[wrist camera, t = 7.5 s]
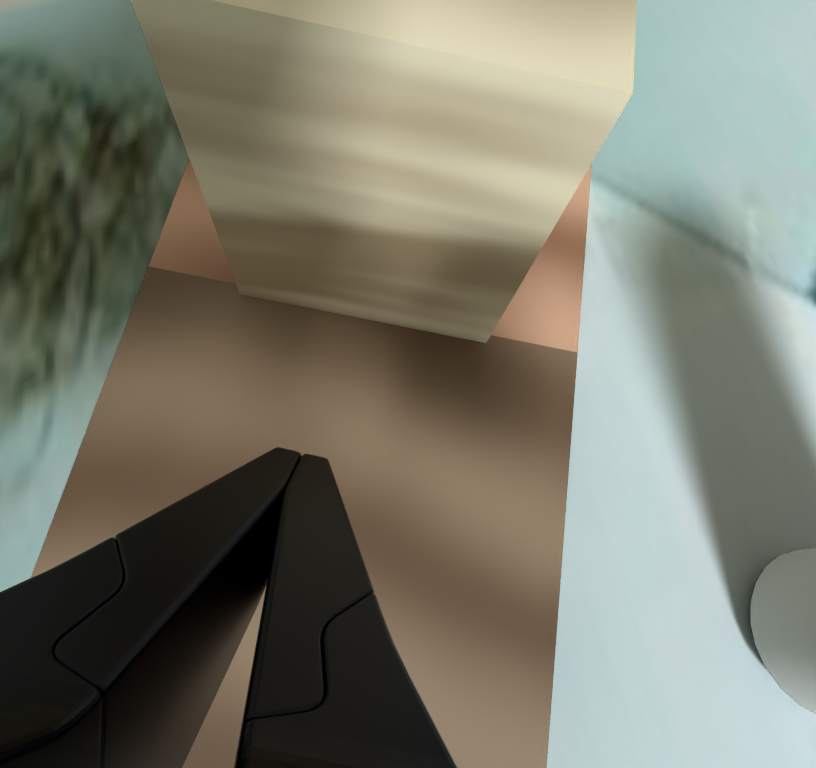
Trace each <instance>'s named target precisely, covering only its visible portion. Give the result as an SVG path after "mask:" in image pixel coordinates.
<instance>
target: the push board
mask: <svg viewBox="0 0 816 768" xmlns="http://www.w3.org/2000/svg"><path fill="white" fill-rule="evenodd" d="M590 177H591V165H590V167H589V169H588V170H587V172H586V174H585V175H584V177H583V179H582V181H581V182H580V184H579V186H578V187H577V189H576V191H575V193H574V194H573V196H572V198H571V199H570V201H569V203H568V204H567V206H566V208H565V210H564V211H563V213H562V215H561V216H560V218H559V220H558V222H557V223H556V225H555V227H554V228H553V230H552V232H551V233H550V235H549V237H548V239H547V240H546V242H545V244H544V245H543V247H542V249H541V251H540V252H539V254H538V256H537V257H536V259H535V261H534V263H533V264H532V266H531V268H530V269H529V271H528V273H527V274H526V276H525V278H524V280H523V281H522V283H521V285H520V286H519V288H518V290H517V292H516V293H515V295H514V297H513V298H512V300H511V302H510V303H509V305H508V307H507V309H506V310H505V312H504V314H503V315H502V317H501V319H500V321H499V322H498V324H497V326H496V327H495V329H494V331H493V333H492V334H491V336H490V338H489V339H488V341H487V343H483V342H478V341H473V340H468V339H463V338H458V337H453V336H448V335H443V334H438V333H433V332H428V331H423V330H418V329H413V328H408V327H403V326H398V325H393V324H388V323H383V322H378V321H373V320H368V319H363V318H358V317H353V316H348V315H343V314H338V313H333V312H328V311H323V310H318V309H313V308H308V307H303V306H298V305H293V304H288V303H283V302H278V301H273V300H268V299H263V298H258V297H253V296H248V295H243V294H240V293H239V291H238V288H237V285H236V283H235V280H234V277H233V275H232V272H231V269H230V267H229V264H228V261H227V258H226V256H225V253H224V250H223V248H222V245H221V242H220V240H219V237H218V234H217V232H216V229H215V226H214V223H213V221H212V218H211V215H210V213H209V210H208V207H207V205H206V202H205V199H204V197H203V194H202V191H201V188H200V186H199V183H198V180H197V178H196V175H195V172H194V170H193V167H192V164H191V161H190V159H189V160H188V163H187V166H186V168H185V171H184V174H183V176H182V179H181V181H180V184H179V187H178V189H177V192H176V195H175V197H174V200H173V203H172V205H171V208H170V211H169V213H168V216H167V219H166V221H165V224H164V227H163V229H162V232H161V235H160V237H159V240H158V242H157V245H156V248H155V250H154V253H153V256H152V258H151V261H150V264H149V266H148V269H147V272H146V274H145V277H144V280H143V282H142V285H141V288H140V290H139V293H138V296H137V298H136V301H135V303H134V306H133V309H132V311H131V314H130V317H129V319H128V322H127V325H126V327H125V330H124V333H123V335H122V338H121V341H120V343H119V346H118V349H117V351H116V354H115V357H114V359H113V362H112V364H111V367H110V370H109V372H108V375H107V378H106V380H105V383H104V386H103V388H102V391H101V394H100V396H99V399H98V402H97V404H96V407H95V410H94V412H93V415H92V417H91V420H90V423H89V425H88V428H87V431H86V433H85V436H84V439H83V441H82V444H81V447H80V449H79V452H78V455H77V457H76V460H75V463H74V465H73V468H72V471H71V473H70V476H69V478H68V481H67V484H66V486H65V489H64V492H63V494H62V497H61V500H60V502H59V505H58V508H57V510H56V513H55V516H54V518H53V521H52V524H51V526H50V529H49V532H48V534H47V537H46V539H45V542H44V545H43V547H42V550H41V553H40V555H39V558H38V561H37V563H36V566H35V569H34V571H33V574H32V577H34V576H37V575H39V574H41V573H43V572H45V571H47V570H50V569H51V568H53V567H55V566H57V565H59V564H61V563H63V562H65V561H67V560H69V559H71V558H73V557H75V556H77V555H79V554H81V553H83V552H84V551H86V550H88V549H90V548H92V547H94V546H96V545H98V544H99V543H101V542H103V541H105V540H107V539H109V538H111V537H113V538H115V536H116V534H118V533H120V532H122V531H124V530H125V529H127V528H129V527H131V526H133V525H135V524H136V523H138V522H140V521H142V520H144V519H146V518H147V517H149V516H151V515H153V514H155V513H157V512H158V511H160V510H162V509H164V508H166V507H168V506H169V505H171V504H173V503H175V502H177V501H179V500H180V499H182V498H184V497H186V496H188V495H190V494H191V493H193V492H195V491H197V490H199V489H200V488H202V487H204V486H206V485H208V484H210V483H211V482H213V481H215V480H217V479H219V478H221V477H222V476H224V475H226V474H228V473H230V472H232V471H233V470H235V469H237V468H239V467H241V466H243V465H244V464H246V463H248V462H250V461H252V460H254V459H255V458H257V457H259V456H261V455H263V454H265V453H266V452H268V451H270V450H272V449H274V448H276V447H281V448H285V449H289V450H294V451H298V452H300V453H301V457H302V455H303V454H311V455H315V456H320V457H324V458H327V459H328V461H329V463H330V466H331V469H332V471H333V474H334V477H335V480H336V483H337V486H338V489H339V491H340V494H341V497H342V500H343V503H344V506H345V509H346V511H347V514H348V517H349V520H350V523H351V526H352V529H353V532H354V534H355V537H356V540H357V543H358V546H359V549H360V552H361V554H362V557H363V560H364V563H365V566H366V569H367V572H368V574H369V577H370V580H371V583H372V586H373V589H374V594H375V595H376V597H377V599H378V602H379V605H380V608H381V611H382V614H383V617H384V619H385V622H386V624H387V627H388V629H389V632H390V634H391V637H392V639H393V642H394V644H395V646H396V648H397V651H398V653H399V655H400V657H401V659H402V661H403V663H404V665H405V667H406V669H407V671H408V673H409V675H410V677H411V679H412V681H413V683H414V685H415V687H416V689H417V691H418V693H419V695H420V696H421V698H422V700H423V702H424V704H425V706H426V708H427V710H428V712H429V714H430V716H431V718H432V720H433V721H434V723H435V725H436V727H437V729H438V731H439V733H440V735H441V737H442V739H443V741H444V743H445V744H446V746H447V748H448V750H449V752H450V754H451V756H452V758H453V760H454V762H455V764H456V765H457V767H458V768H546V766H547V753H548V740H549V726H550V713H551V699H552V686H553V673H554V659H555V646H556V632H557V619H558V606H559V592H560V579H561V566H562V552H563V539H564V525H565V512H566V499H567V485H568V472H569V458H570V445H571V432H572V418H573V405H574V392H575V378H576V365H577V351H578V338H579V325H580V311H581V298H582V284H583V271H584V258H585V244H586V231H587V218H588V204H589V191H590ZM32 577H31V578H32ZM265 590H266V588H265ZM265 590H264V593H263V595H262V597H261V599H260V602H259V604H258V606H257V608H256V611H255V613H254V615H253V617H252V619H251V621H250V623H249V626H248V628H247V630H246V632H245V634H244V636H243V638H242V641H241V643H240V645H239V647H238V649H237V651H236V653H235V656H234V658H233V660H232V662H231V664H230V666H229V668H228V670H227V673H226V675H225V677H224V679H223V681H222V683H221V685H220V688H219V690H218V692H217V694H216V696H215V698H214V700H213V703H212V705H211V707H210V709H209V711H208V713H207V715H206V718H205V720H204V722H203V724H202V726H201V728H200V730H199V733H198V735H197V737H196V739H195V741H194V743H193V745H192V748H191V750H190V752H189V754H188V756H187V758H186V760H185V763H184V765H183V767H182V768H234V763H235V758H236V752H237V747H238V741H239V735H240V730H241V724H242V719H243V713H244V707H245V702H246V696H247V691H248V685H249V680H250V674H251V668H252V663H253V657H254V652H255V646H256V640H257V635H258V629H259V624H260V618H261V613H262V607H263V601H264V596H265Z"/></svg>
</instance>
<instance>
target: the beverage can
mask: <svg viewBox="0 0 816 768" xmlns="http://www.w3.org/2000/svg"><path fill="white" fill-rule="evenodd" d="M751 628H752V632H753V637H754V641H755V645H756V648H757V650H758V652H759V654H760V656H761V659H762V661H763V663H764V665H765V667H766V669H767V670H768V672H769V673H770V675H771V676H772V677H773V679H774V680H775V681H776V683H777V684H778V685H779V687H780V688H781V689H782V690H783V691H784V692H785V693H786V694H787V695H789V696H790V697H791V698H792V699H793V700H794V701H795V702H796V703H798V704H799V705H800V706H802V707H804V708H806V709H807V710H809V711H811V712H813V713H815V714H816V548H814V549H800V550H795V551H792V552H788V553H785V554H781V555H779V556H778V557H777V558H776V559H774V560H773V561H772V562H771V563H769V564H768V565H767V566H766V567H765V569H764V570H763V572H762V573H761V575H760V577H759V578H758V580H757V581H756V584H755V588H754V592H753V595H752V599H751Z"/></svg>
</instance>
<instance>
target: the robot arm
mask: <svg viewBox="0 0 816 768" xmlns="http://www.w3.org/2000/svg"><path fill="white" fill-rule="evenodd" d="M265 588H266V590H265ZM264 590H265V596H264V601H263V607H262V613H261V618H260V624H259V629H258V635H257V640H256V646H255V652H254V657H253V663H252V668H251V674H250V680H249V685H248V691H247V696H246V702H245V707H244V713H243V719H242V724H241V730H240V735H239V741H238V747H237V752H236V758H235V763H234V768H458V767H457V765H456V764H455V762H454V760H453V758H452V756H451V754H450V752H449V750H448V748H447V746H446V744H445V743H444V741H443V739H442V737H441V735H440V733H439V731H438V729H437V727H436V725H435V723H434V721H433V720H432V718H431V716H430V714H429V712H428V710H427V708H426V706H425V704H424V702H423V700H422V698H421V696H420V695H419V693H418V691H417V689H416V687H415V685H414V683H413V681H412V679H411V677H410V675H409V673H408V671H407V669H406V667H405V665H404V663H403V661H402V659H401V657H400V655H399V653H398V651H397V648H396V646H395V644H394V642H393V639H392V637H391V634H390V632H389V629H388V627H387V624H386V622H385V619H384V617H383V614H382V611H381V608H380V605H379V602H378V599H377V597H376V595H375V594H374V589H373V586H372V583H371V580H370V577H369V574H368V572H367V569H366V566H365V563H364V560H363V557H362V554H361V552H360V549H359V546H358V543H357V540H356V537H355V534H354V532H353V529H352V526H351V523H350V520H349V517H348V514H347V511H346V509H345V506H344V503H343V500H342V497H341V494H340V491H339V489H338V486H337V483H336V480H335V477H334V474H333V471H332V469H331V466H330V463H329V461H328V459H327V458H324V457H320V456H315V455H311V454H303V455H302V457H301V453H300V452H298V451H294V450H289V449H285V448H281V447H276V448H274V449H272V450H270V451H268V452H266V453H265V454H263V455H261V456H259V457H257V458H255V459H254V460H252V461H250V462H248V463H246V464H244V465H243V466H241V467H239V468H237V469H235V470H233V471H232V472H230V473H228V474H226V475H224V476H222V477H221V478H219V479H217V480H215V481H213V482H211V483H210V484H208V485H206V486H204V487H202V488H200V489H199V490H197V491H195V492H193V493H191V494H190V495H188V496H186V497H184V498H182V499H180V500H179V501H177V502H175V503H173V504H171V505H169V506H168V507H166V508H164V509H162V510H160V511H158V512H157V513H155V514H153V515H151V516H149V517H147V518H146V519H144V520H142V521H140V522H138V523H136V524H135V525H133V526H131V527H129V528H127V529H125V530H124V531H122V532H120V533H118V534H116V536H115V538H113V537H111V538H109V539H107V540H105V541H103V542H101V543H99V544H98V545H96V546H94V547H92V548H90V549H88V550H86V551H84V552H83V553H81V554H79V555H77V556H75V557H73V558H71V559H69V560H67V561H65V562H63V563H61V564H59V565H57V566H55V567H53V568H51V569H50V570H47V571H45V572H43V573H41V574H39V575H37V576H34V577H32V578H30V579H28V580H26V581H24V582H21V583H19V584H17V585H15V586H13V587H11V588H8V589H6V590H4V591H2V592H0V768H182V767H183V765H184V763H185V760H186V758H187V756H188V754H189V752H190V750H191V748H192V745H193V743H194V741H195V739H196V737H197V735H198V733H199V730H200V728H201V726H202V724H203V722H204V720H205V718H206V715H207V713H208V711H209V709H210V707H211V705H212V703H213V700H214V698H215V696H216V694H217V692H218V690H219V688H220V685H221V683H222V681H223V679H224V677H225V675H226V673H227V670H228V668H229V666H230V664H231V662H232V660H233V658H234V656H235V653H236V651H237V649H238V647H239V645H240V643H241V641H242V638H243V636H244V634H245V632H246V630H247V628H248V626H249V623H250V621H251V619H252V617H253V615H254V613H255V611H256V608H257V606H258V604H259V602H260V599H261V597H262V595H263V593H264Z"/></svg>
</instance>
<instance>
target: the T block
mask: <svg viewBox="0 0 816 768" xmlns="http://www.w3.org/2000/svg"><path fill="white" fill-rule="evenodd" d="M131 3H132V5H133V8H134V11H135V13H136V16H137V19H138V21H139V24H140V27H141V30H142V32H143V35H144V38H145V40H146V43H147V46H148V48H149V51H150V54H151V56H152V59H153V62H154V65H155V67H156V70H157V73H158V75H159V78H160V81H161V83H162V86H163V89H164V91H165V94H166V97H167V100H168V102H169V105H170V108H171V110H172V113H173V116H174V118H175V121H176V124H177V126H178V129H179V132H180V135H181V137H182V140H183V143H184V145H185V148H186V151H187V153H188V156H189V159H190V161H191V164H192V167H193V170H194V172H195V175H196V178H197V180H198V183H199V186H200V188H201V191H202V194H203V197H204V199H205V202H206V205H207V207H208V210H209V213H210V215H211V218H212V221H213V223H214V226H215V229H216V232H217V234H218V237H219V240H220V242H221V245H222V248H223V250H224V253H225V256H226V258H227V261H228V264H229V267H230V269H231V272H232V275H233V277H234V280H235V283H236V285H237V288H238V291H239V293H240V294H243V295H248V296H253V297H258V298H263V299H268V300H273V301H278V302H283V303H288V304H293V305H298V306H303V307H308V308H313V309H318V310H323V311H328V312H333V313H338V314H343V315H348V316H353V317H358V318H363V319H368V320H373V321H378V322H383V323H388V324H393V325H398V326H403V327H408V328H413V329H418V330H423V331H428V332H433V333H438V334H443V335H448V336H453V337H458V338H463V339H468V340H473V341H478V342H483V343H487V341H488V339H489V338H490V336H491V334H492V333H493V331H494V329H495V327H496V326H497V324H498V322H499V321H500V319H501V317H502V315H503V314H504V312H505V310H506V309H507V307H508V305H509V303H510V302H511V300H512V298H513V297H514V295H515V293H516V292H517V290H518V288H519V286H520V285H521V283H522V281H523V280H524V278H525V276H526V274H527V273H528V271H529V269H530V268H531V266H532V264H533V263H534V261H535V259H536V257H537V256H538V254H539V252H540V251H541V249H542V247H543V245H544V244H545V242H546V240H547V239H548V237H549V235H550V233H551V232H552V230H553V228H554V227H555V225H556V223H557V222H558V220H559V218H560V216H561V215H562V213H563V211H564V210H565V208H566V206H567V204H568V203H569V201H570V199H571V198H572V196H573V194H574V193H575V191H576V189H577V187H578V186H579V184H580V182H581V181H582V179H583V177H584V175H585V174H586V172H587V170H588V169H589V167H590V165H591V164H592V162H593V160H594V158H595V157H596V155H597V153H598V152H599V150H600V148H601V146H602V145H603V143H604V141H605V140H606V138H607V136H608V134H609V133H610V131H611V129H612V128H613V126H614V124H615V123H616V121H617V119H618V117H619V116H620V114H621V112H622V111H623V109H624V107H625V105H626V104H627V102H628V100H629V99H630V97H631V95H632V94H633V77H634V55H635V33H636V11H637V0H131Z"/></svg>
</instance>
